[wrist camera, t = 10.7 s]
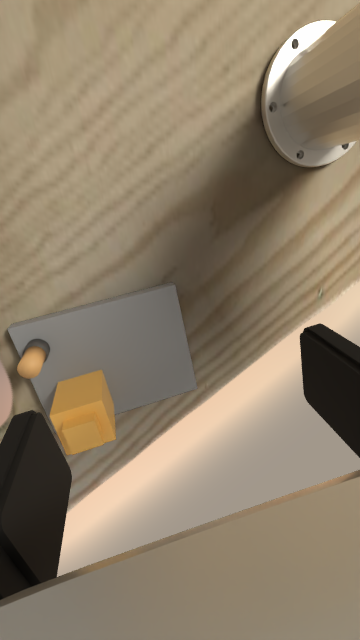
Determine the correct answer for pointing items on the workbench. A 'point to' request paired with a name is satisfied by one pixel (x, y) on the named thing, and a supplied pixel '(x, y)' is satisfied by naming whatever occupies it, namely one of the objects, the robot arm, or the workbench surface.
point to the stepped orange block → (83, 413)
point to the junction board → (110, 348)
